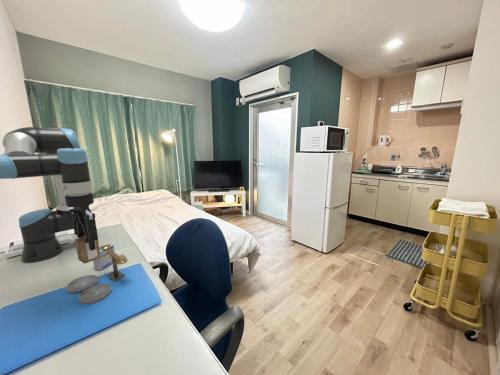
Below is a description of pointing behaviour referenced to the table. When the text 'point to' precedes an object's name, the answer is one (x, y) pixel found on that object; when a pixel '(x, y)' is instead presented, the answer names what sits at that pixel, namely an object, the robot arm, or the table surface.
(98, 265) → the medicine box
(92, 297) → the dish
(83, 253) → the block
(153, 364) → the table surface
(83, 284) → the dish
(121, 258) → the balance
